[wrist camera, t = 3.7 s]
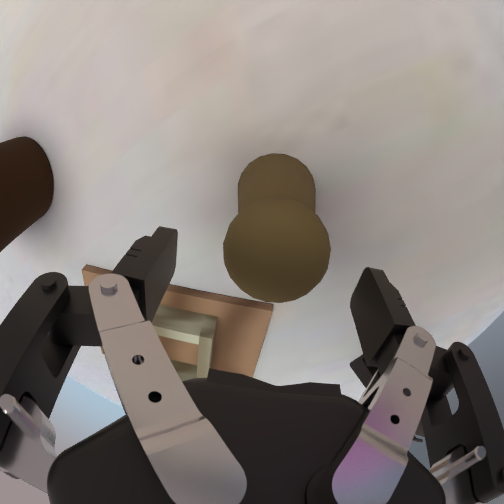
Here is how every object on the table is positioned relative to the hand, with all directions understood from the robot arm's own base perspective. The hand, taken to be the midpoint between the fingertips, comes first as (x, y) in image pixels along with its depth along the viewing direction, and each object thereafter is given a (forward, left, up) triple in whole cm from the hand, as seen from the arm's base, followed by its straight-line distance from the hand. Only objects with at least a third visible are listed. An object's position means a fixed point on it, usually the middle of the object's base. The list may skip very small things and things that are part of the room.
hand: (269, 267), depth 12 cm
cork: (0, +1, -12) cm, 12 cm away
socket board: (+8, +19, -12) cm, 23 cm away
